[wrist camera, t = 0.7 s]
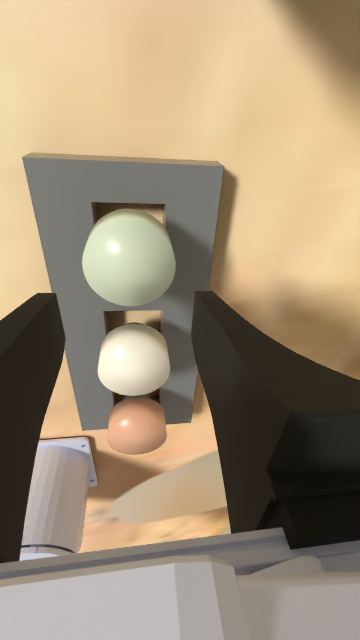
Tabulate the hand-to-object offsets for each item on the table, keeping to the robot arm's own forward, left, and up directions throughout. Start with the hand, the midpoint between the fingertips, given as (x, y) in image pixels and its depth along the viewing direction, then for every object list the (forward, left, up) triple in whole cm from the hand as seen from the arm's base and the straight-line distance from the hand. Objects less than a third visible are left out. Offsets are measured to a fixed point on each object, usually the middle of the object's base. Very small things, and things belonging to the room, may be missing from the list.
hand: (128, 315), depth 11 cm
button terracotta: (-14, 0, -7) cm, 16 cm away
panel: (-7, 0, -9) cm, 12 cm away
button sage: (0, 0, -7) cm, 7 cm away
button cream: (-7, 0, -7) cm, 10 cm away
